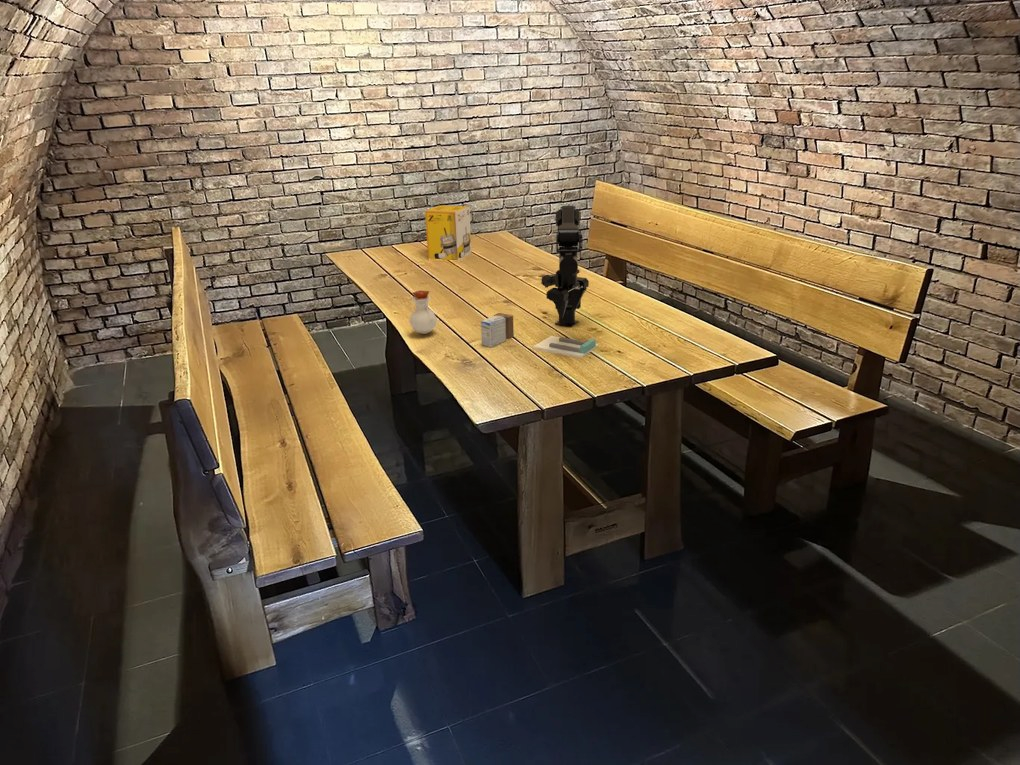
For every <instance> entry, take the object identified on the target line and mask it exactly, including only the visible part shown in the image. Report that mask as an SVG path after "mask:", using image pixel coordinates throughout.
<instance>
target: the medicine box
mask: <svg viewBox="0 0 1020 765" xmlns="http://www.w3.org/2000/svg"><path fill="white" fill-rule="evenodd" d="M480 330H481V331H480V335H481V336H480V337H481V345H482V346H485V347H488V348H493V347H495V346H497V345H499V344H502V343H504V342H506V340H507V339H506V321H505V318H504V317H501V316H494V315H493V316H490V317H488V318H485V319H483V320H481V321H480Z"/></svg>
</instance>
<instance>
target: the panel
mask: <svg viewBox="0 0 1020 765" xmlns="http://www.w3.org/2000/svg"><path fill="white" fill-rule="evenodd" d="M493 316H501V317H504V318H505V321H506V340H510V339H512V338H513V337H514V333H515V332H514V328H515V327H514V315H513V314H508V313H503V312H502V313H501V312H498V313H495V314H494V315H493Z"/></svg>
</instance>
